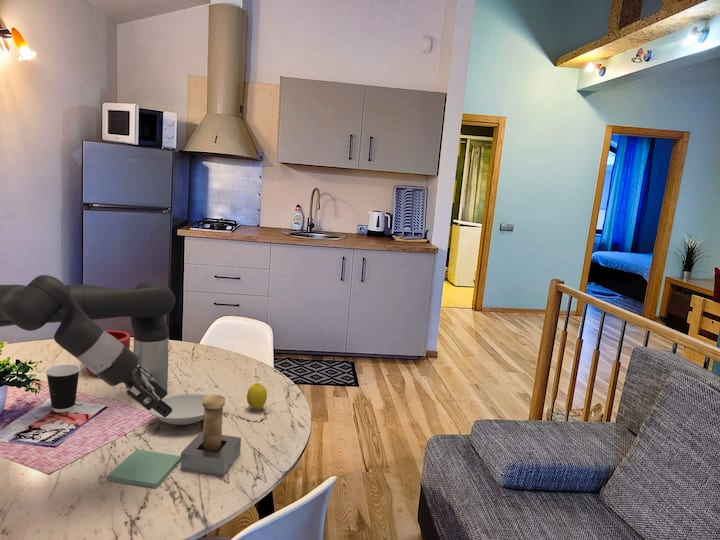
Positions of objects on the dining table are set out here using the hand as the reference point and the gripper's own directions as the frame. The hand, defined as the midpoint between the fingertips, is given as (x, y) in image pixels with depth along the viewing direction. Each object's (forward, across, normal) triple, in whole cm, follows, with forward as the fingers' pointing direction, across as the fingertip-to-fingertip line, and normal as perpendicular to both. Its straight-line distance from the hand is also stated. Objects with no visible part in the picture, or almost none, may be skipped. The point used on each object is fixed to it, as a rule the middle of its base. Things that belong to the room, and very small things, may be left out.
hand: (166, 404), depth 108 cm
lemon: (+30, -23, +8) cm, 39 cm away
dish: (+16, -21, -6) cm, 27 cm away
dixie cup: (-4, -38, -26) cm, 46 cm away
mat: (+8, -2, -14) cm, 16 cm away
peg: (+18, -1, -4) cm, 18 cm away
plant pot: (+4, -62, -19) cm, 65 cm away
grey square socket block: (+18, -1, -4) cm, 18 cm away
